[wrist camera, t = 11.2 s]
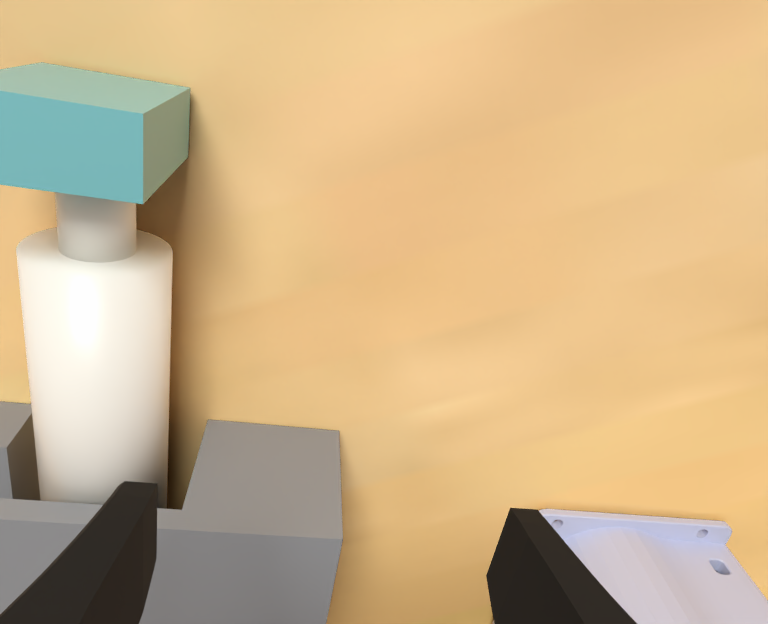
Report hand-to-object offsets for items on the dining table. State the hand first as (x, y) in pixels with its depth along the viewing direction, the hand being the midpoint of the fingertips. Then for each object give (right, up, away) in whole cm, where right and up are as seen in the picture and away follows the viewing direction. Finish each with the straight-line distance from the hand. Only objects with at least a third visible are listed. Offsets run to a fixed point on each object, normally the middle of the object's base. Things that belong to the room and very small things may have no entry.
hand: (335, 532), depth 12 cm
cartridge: (-8, +4, +8) cm, 12 cm away
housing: (-9, -5, +13) cm, 16 cm away
